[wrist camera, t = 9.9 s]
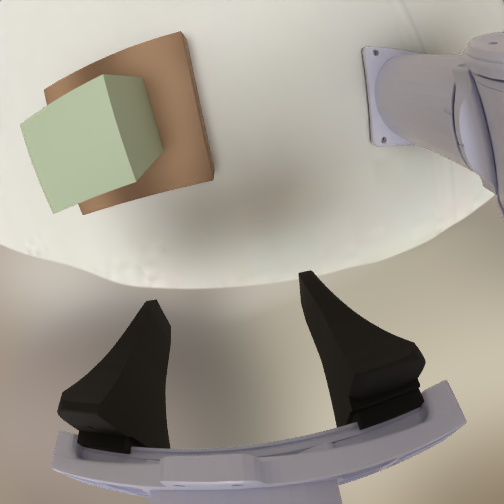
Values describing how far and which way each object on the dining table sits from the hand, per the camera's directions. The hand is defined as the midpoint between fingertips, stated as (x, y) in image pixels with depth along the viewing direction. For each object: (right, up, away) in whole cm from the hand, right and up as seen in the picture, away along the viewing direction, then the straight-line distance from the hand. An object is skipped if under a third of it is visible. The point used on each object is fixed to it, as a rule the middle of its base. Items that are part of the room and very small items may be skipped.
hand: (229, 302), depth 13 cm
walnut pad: (-7, +12, +3) cm, 14 cm away
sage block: (-7, +10, +1) cm, 13 cm away
